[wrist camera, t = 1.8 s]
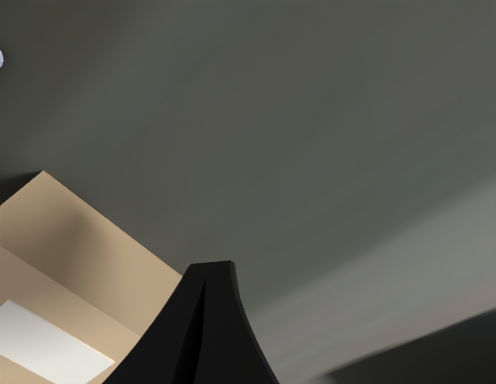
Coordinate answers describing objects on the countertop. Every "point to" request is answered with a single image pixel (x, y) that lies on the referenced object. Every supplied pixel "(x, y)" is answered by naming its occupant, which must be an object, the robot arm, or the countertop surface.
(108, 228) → the carton
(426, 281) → the countertop surface
